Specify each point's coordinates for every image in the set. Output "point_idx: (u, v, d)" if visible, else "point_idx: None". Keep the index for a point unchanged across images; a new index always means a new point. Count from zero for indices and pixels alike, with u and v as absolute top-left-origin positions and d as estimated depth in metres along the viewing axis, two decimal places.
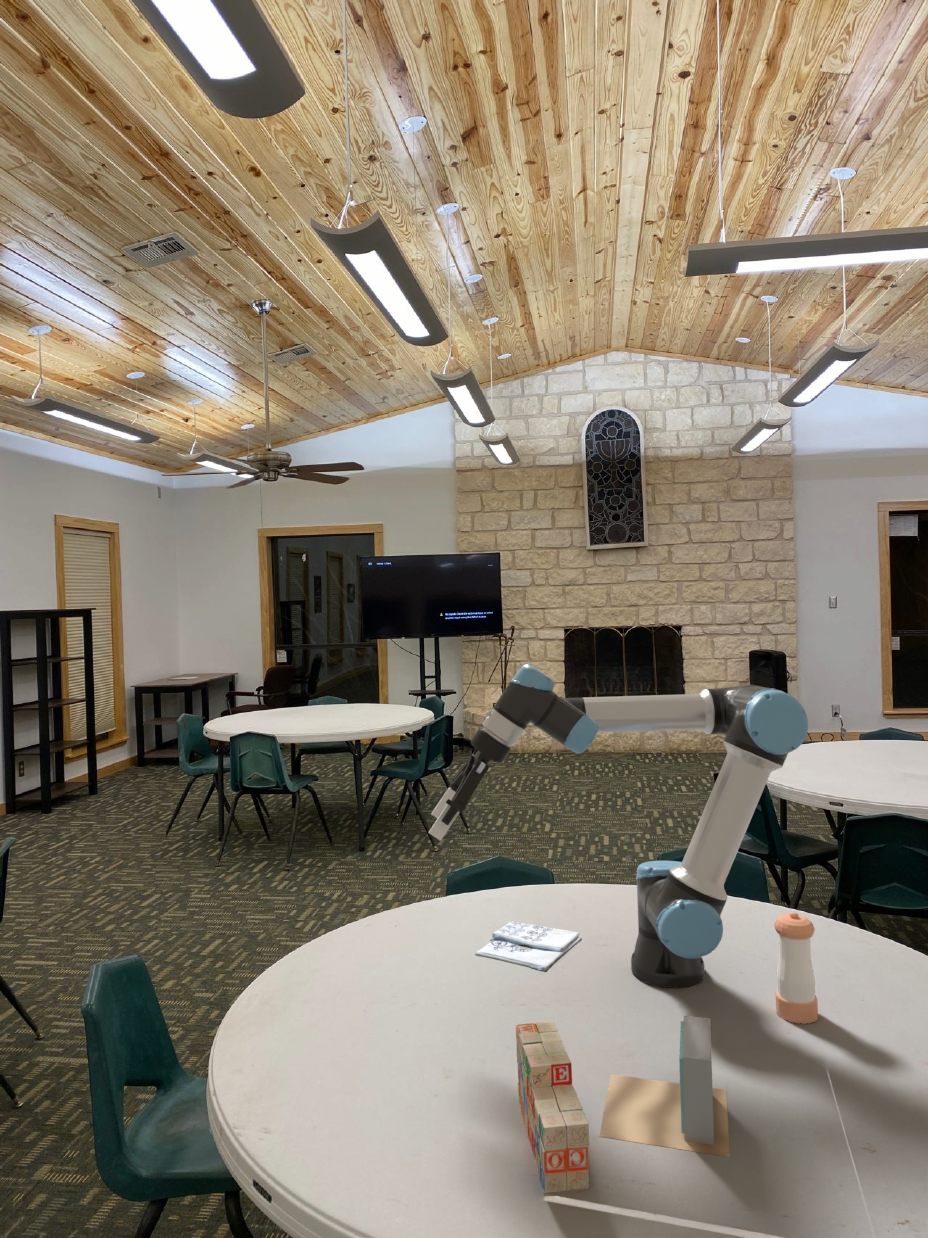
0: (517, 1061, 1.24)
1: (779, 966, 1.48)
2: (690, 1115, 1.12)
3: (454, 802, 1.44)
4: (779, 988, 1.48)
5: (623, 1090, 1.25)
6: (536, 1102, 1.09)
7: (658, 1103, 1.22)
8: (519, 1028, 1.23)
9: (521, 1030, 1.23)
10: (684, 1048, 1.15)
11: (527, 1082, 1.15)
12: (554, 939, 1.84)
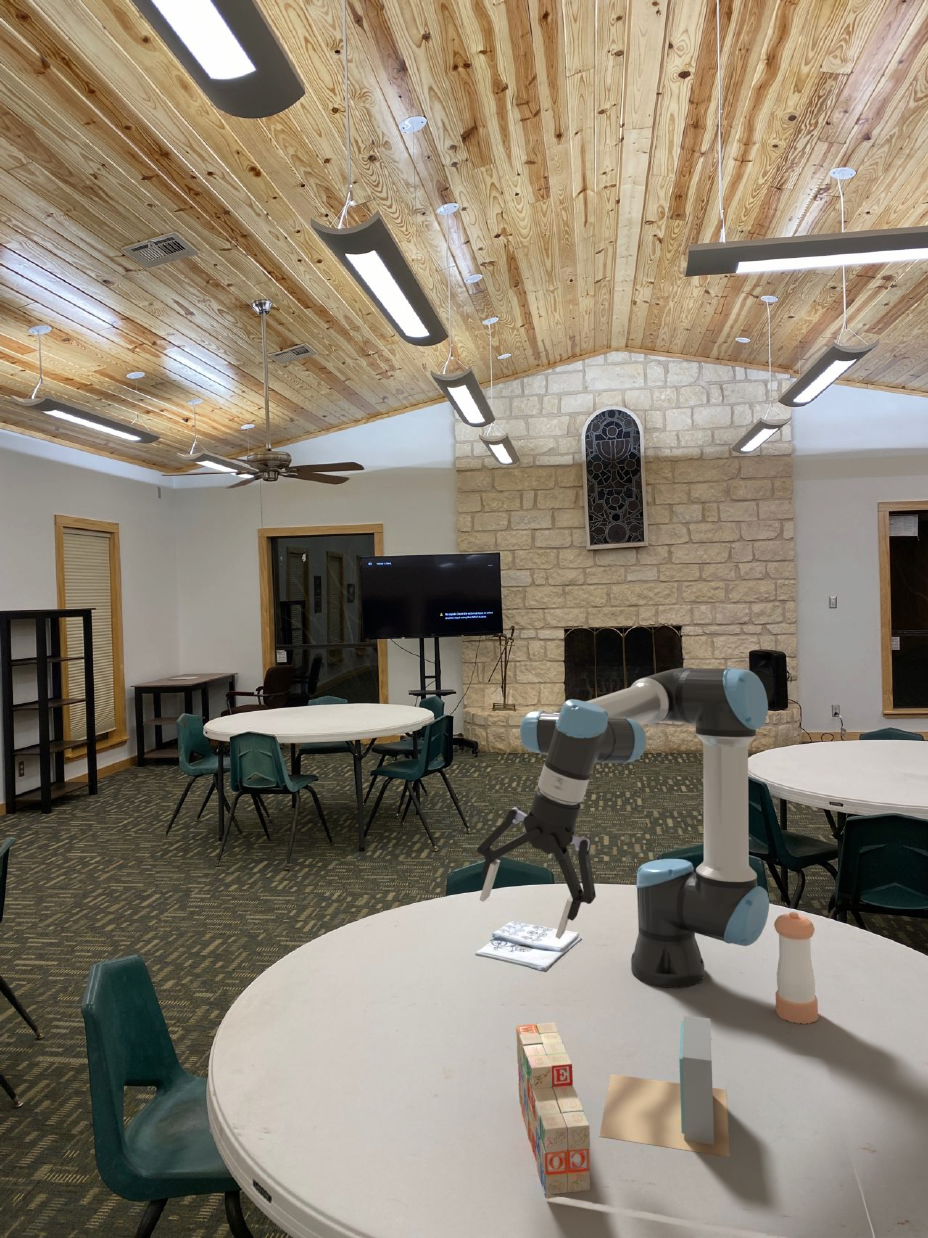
0: (518, 1062, 1.24)
1: (779, 966, 1.48)
2: (690, 1115, 1.12)
3: (592, 900, 1.23)
4: (779, 988, 1.48)
5: (623, 1090, 1.25)
6: (537, 1103, 1.09)
7: (658, 1103, 1.22)
8: (519, 1029, 1.23)
9: (521, 1031, 1.23)
10: (684, 1048, 1.15)
11: (528, 1083, 1.15)
12: (554, 939, 1.84)
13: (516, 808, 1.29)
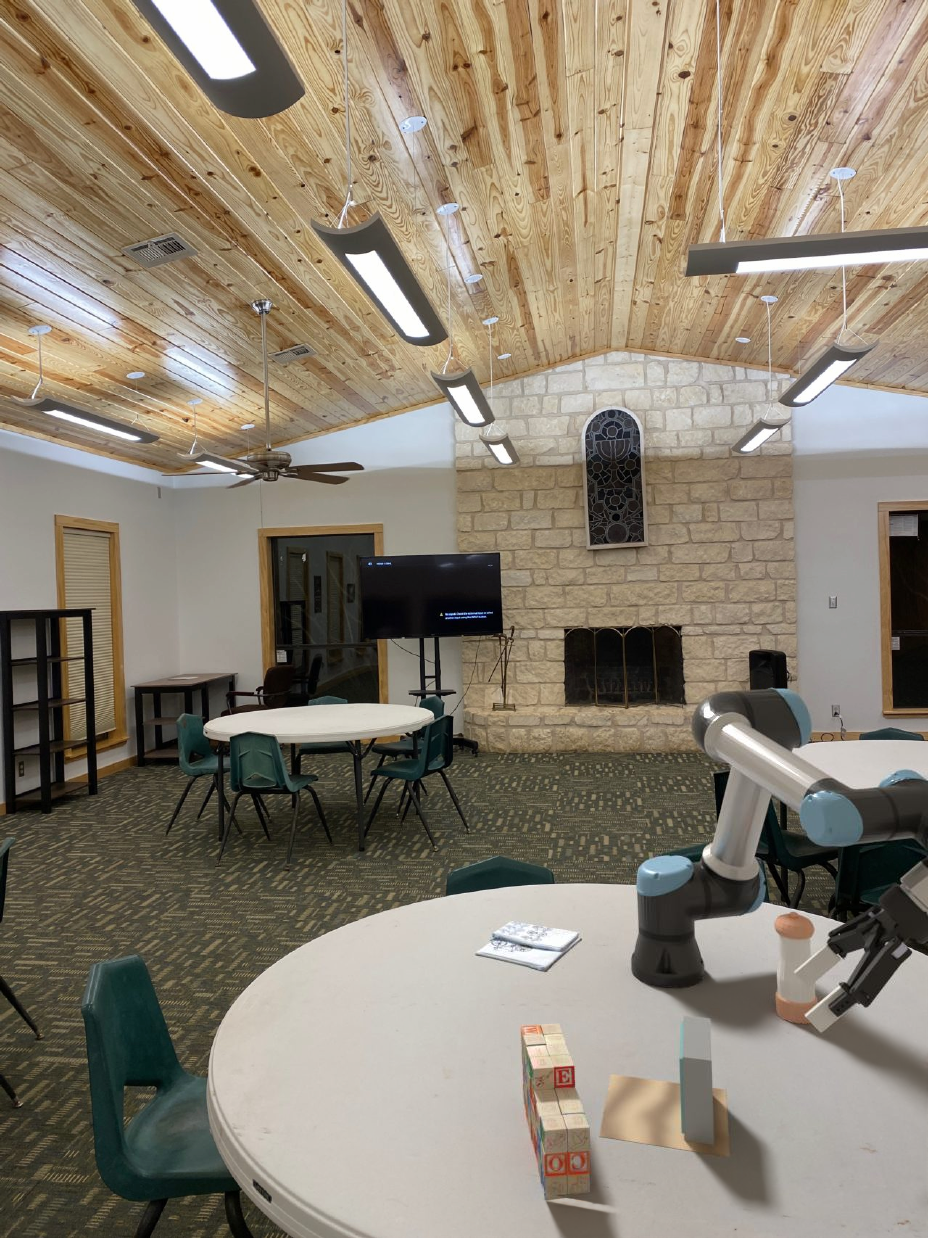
0: (522, 1063, 1.24)
1: (779, 966, 1.48)
2: (690, 1115, 1.12)
3: None
4: (779, 988, 1.48)
5: (623, 1090, 1.25)
6: (538, 1104, 1.08)
7: (658, 1103, 1.22)
8: (523, 1029, 1.23)
9: (526, 1031, 1.22)
10: (684, 1048, 1.15)
11: (530, 1084, 1.15)
12: (554, 939, 1.84)
13: (903, 943, 1.04)
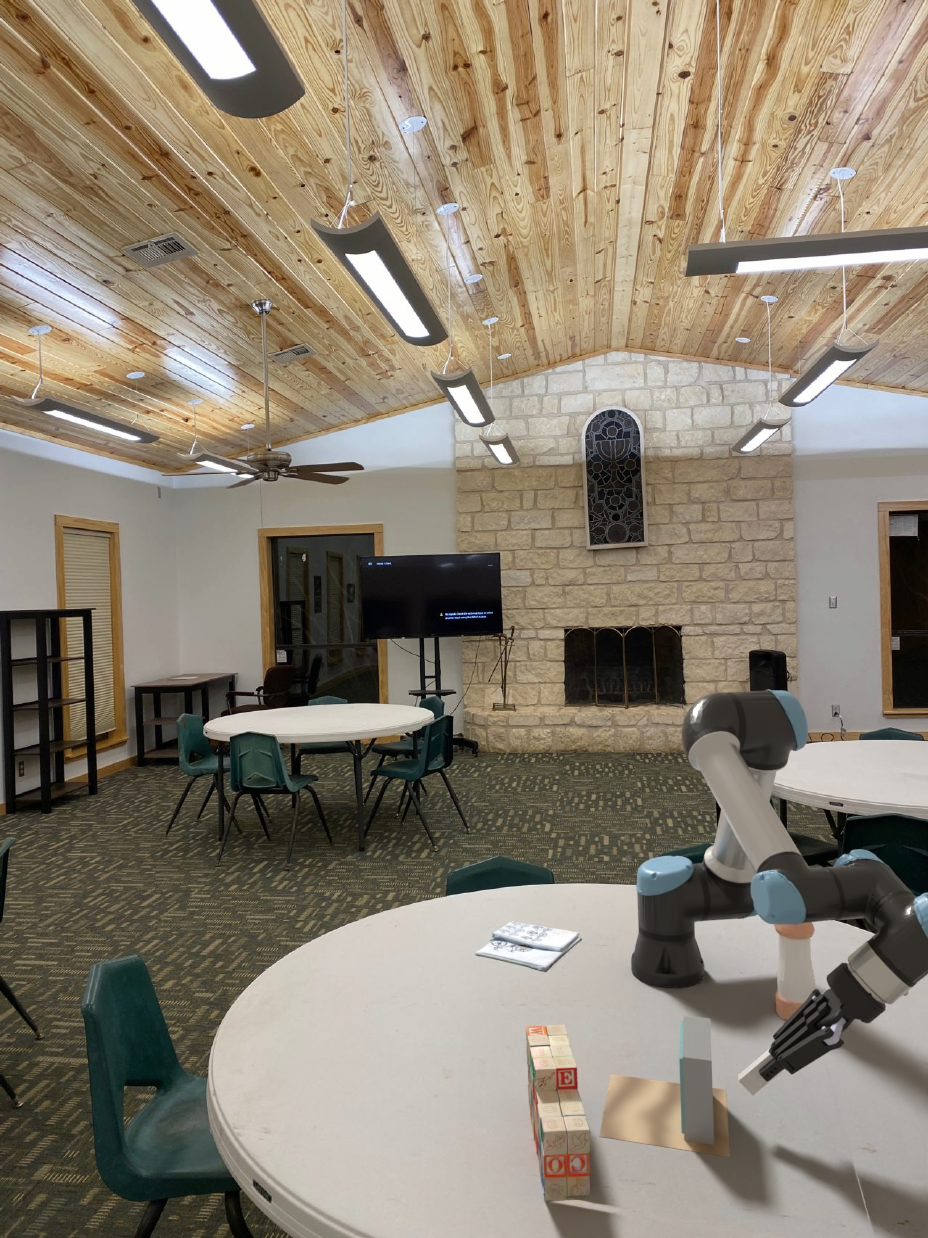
0: (527, 1063, 1.23)
1: (779, 966, 1.48)
2: (690, 1115, 1.12)
3: None
4: (779, 988, 1.48)
5: (623, 1090, 1.25)
6: (539, 1105, 1.08)
7: (658, 1103, 1.22)
8: (528, 1030, 1.23)
9: (530, 1032, 1.22)
10: (684, 1048, 1.15)
11: (533, 1085, 1.15)
12: (554, 939, 1.84)
13: (835, 1035, 1.07)
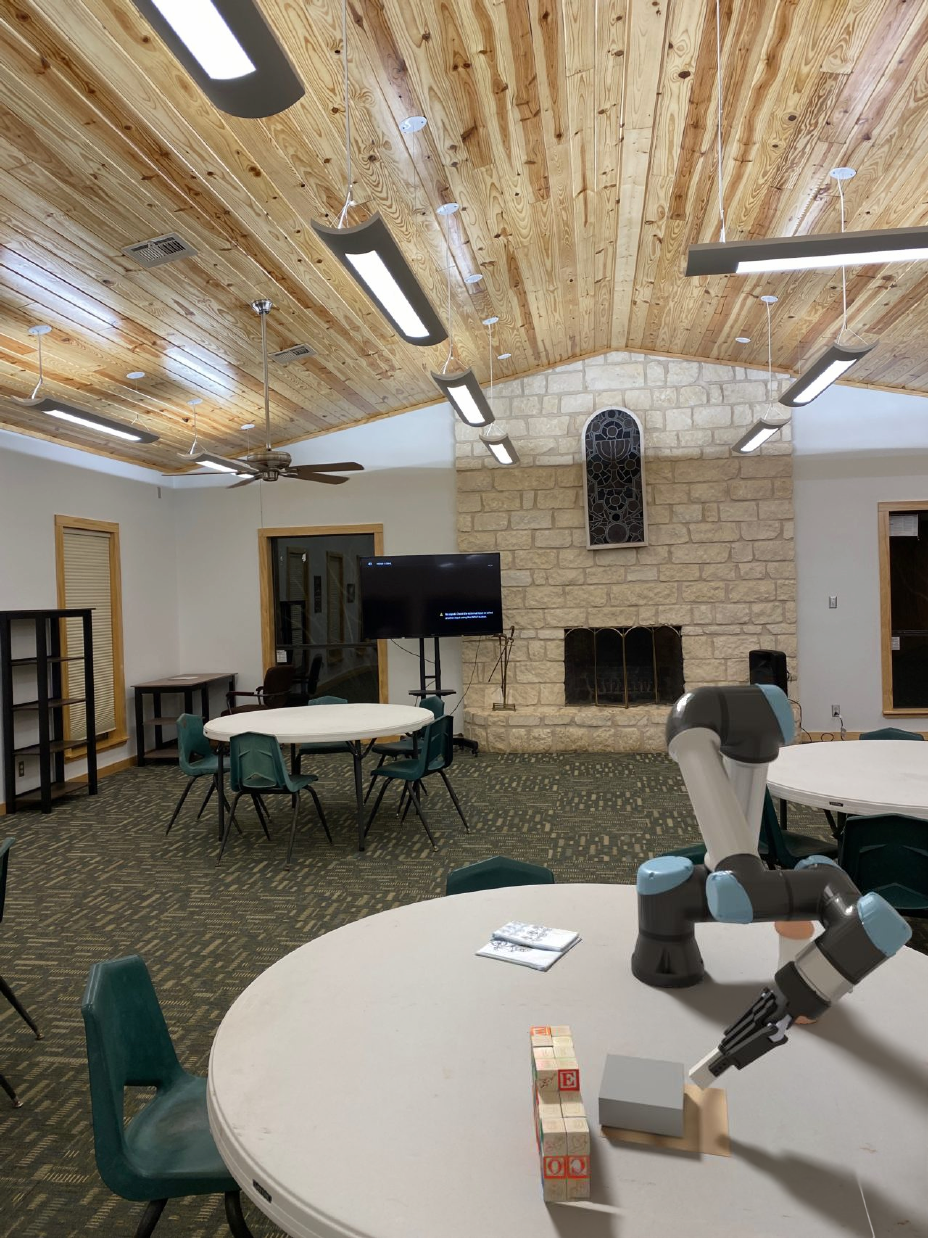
0: (531, 1064, 1.23)
1: (779, 966, 1.48)
2: (656, 1127, 1.14)
3: None
4: None
5: None
6: (540, 1106, 1.08)
7: None
8: (532, 1030, 1.23)
9: (534, 1032, 1.22)
10: None
11: (535, 1085, 1.14)
12: (554, 939, 1.84)
13: (780, 1032, 1.09)
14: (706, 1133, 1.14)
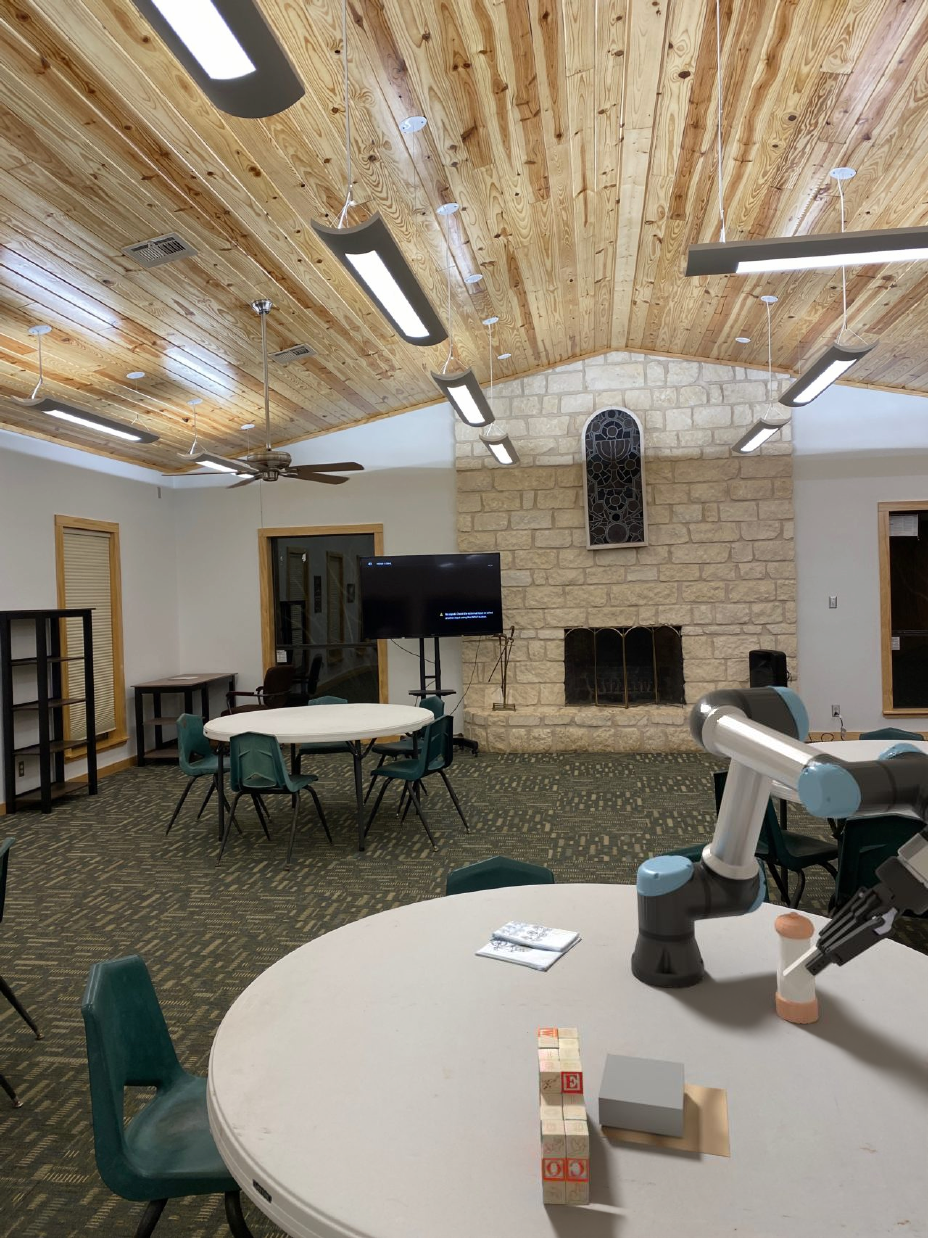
0: None
1: (779, 966, 1.48)
2: (656, 1127, 1.14)
3: None
4: (779, 988, 1.48)
5: None
6: (541, 1108, 1.08)
7: None
8: (539, 1032, 1.22)
9: (541, 1033, 1.22)
10: None
11: (540, 1087, 1.14)
12: (554, 939, 1.84)
13: (887, 923, 1.05)
14: (706, 1133, 1.14)
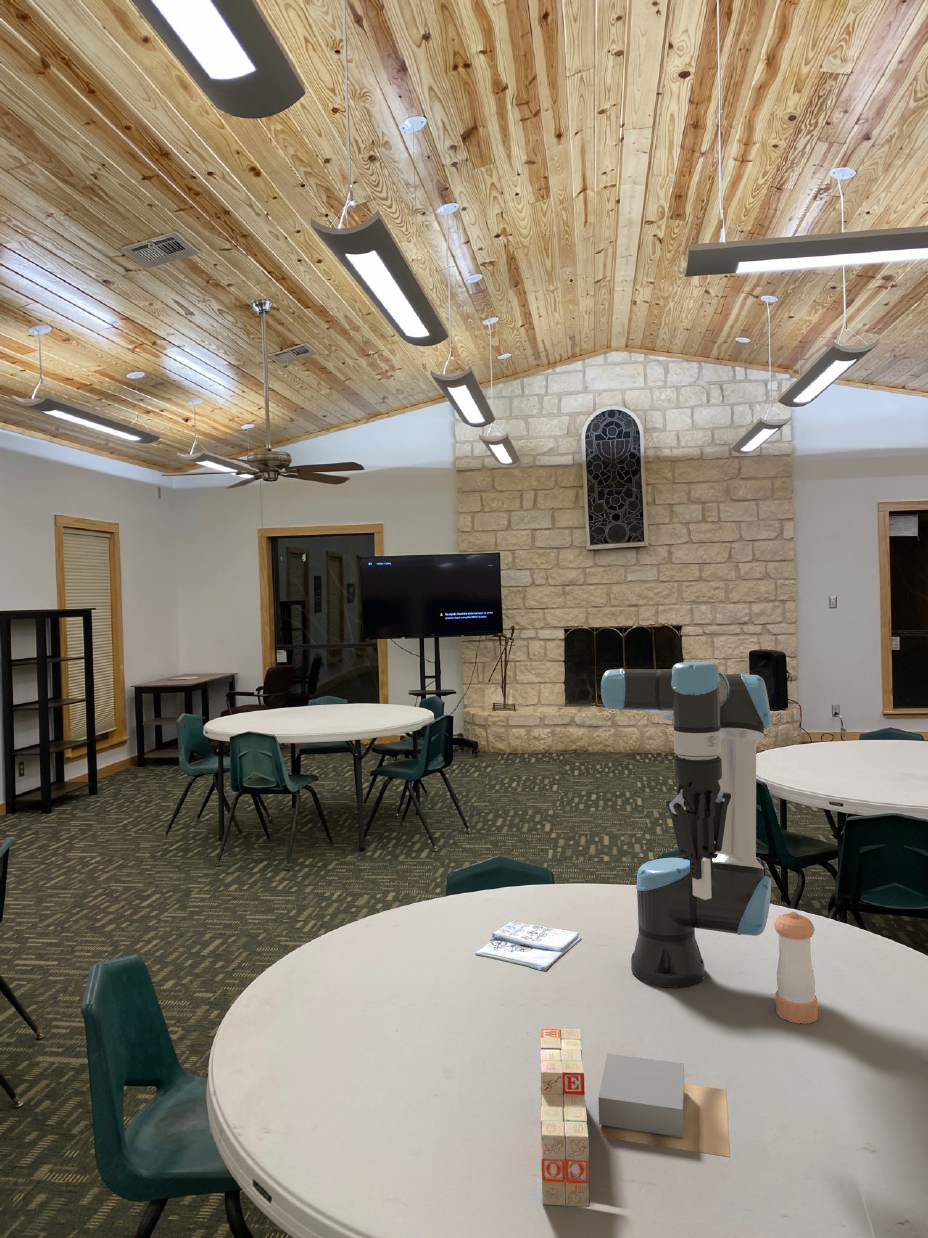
0: None
1: (779, 966, 1.48)
2: (656, 1127, 1.14)
3: None
4: (779, 988, 1.48)
5: None
6: (542, 1108, 1.08)
7: None
8: (542, 1032, 1.22)
9: (544, 1034, 1.21)
10: None
11: (541, 1087, 1.14)
12: (554, 939, 1.84)
13: (671, 802, 1.28)
14: (706, 1133, 1.14)
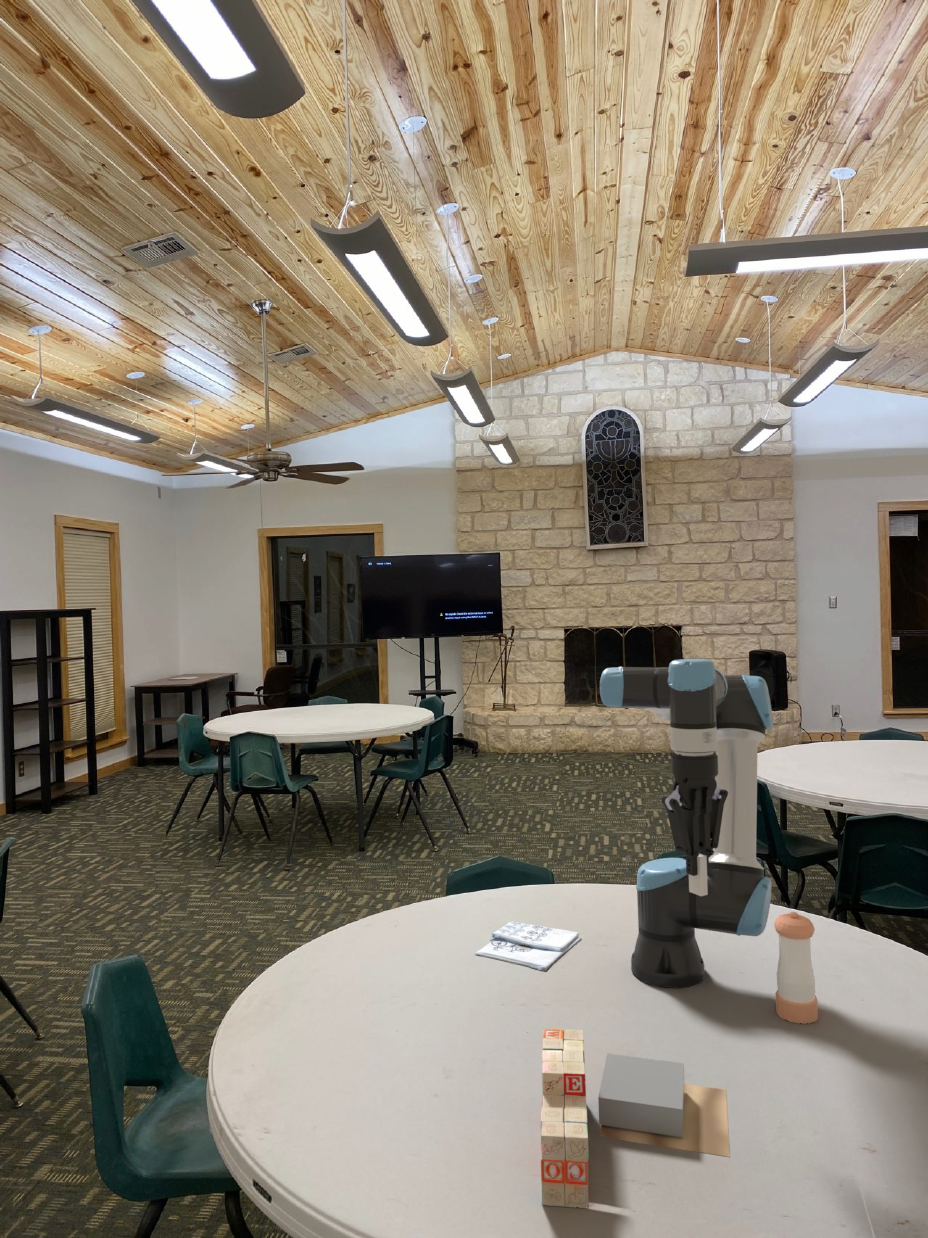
0: None
1: (779, 966, 1.48)
2: (656, 1127, 1.14)
3: None
4: (779, 988, 1.48)
5: None
6: (542, 1109, 1.07)
7: None
8: (545, 1033, 1.22)
9: (547, 1035, 1.21)
10: None
11: None
12: (554, 939, 1.84)
13: (667, 798, 1.29)
14: (706, 1133, 1.14)
